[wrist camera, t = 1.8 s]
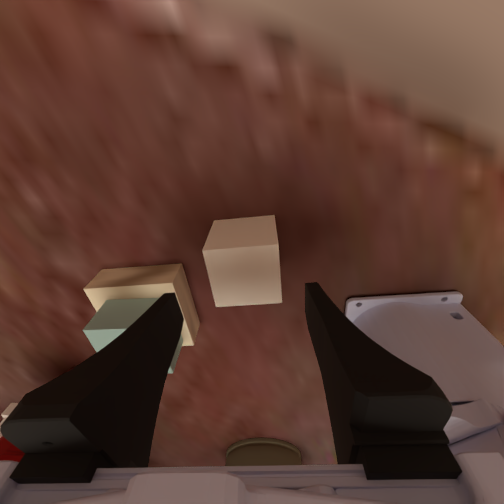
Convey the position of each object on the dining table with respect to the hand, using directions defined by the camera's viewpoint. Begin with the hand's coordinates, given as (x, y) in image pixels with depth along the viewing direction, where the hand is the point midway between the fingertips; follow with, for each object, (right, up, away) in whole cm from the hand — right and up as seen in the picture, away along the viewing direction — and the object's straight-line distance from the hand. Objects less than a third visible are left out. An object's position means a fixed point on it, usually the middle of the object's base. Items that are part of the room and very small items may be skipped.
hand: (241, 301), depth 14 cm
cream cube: (0, +3, +6) cm, 7 cm away
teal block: (-8, -3, +7) cm, 11 cm away
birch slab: (-8, -1, +9) cm, 12 cm away
